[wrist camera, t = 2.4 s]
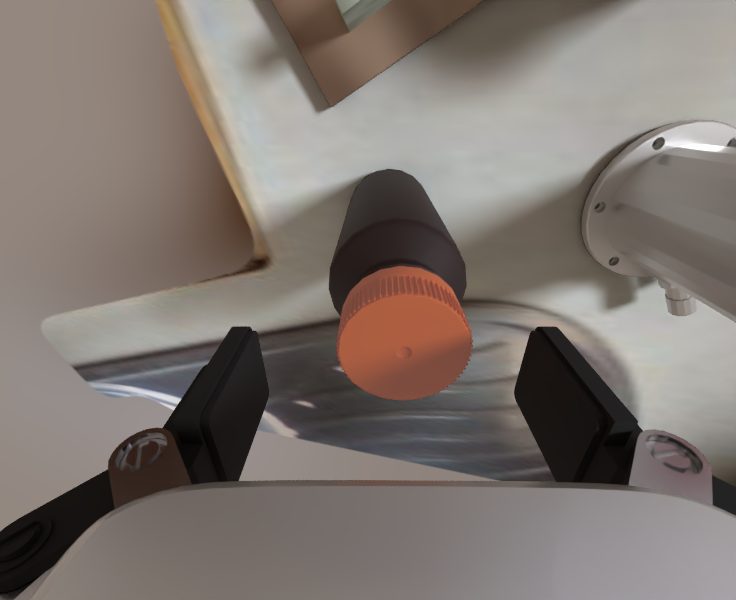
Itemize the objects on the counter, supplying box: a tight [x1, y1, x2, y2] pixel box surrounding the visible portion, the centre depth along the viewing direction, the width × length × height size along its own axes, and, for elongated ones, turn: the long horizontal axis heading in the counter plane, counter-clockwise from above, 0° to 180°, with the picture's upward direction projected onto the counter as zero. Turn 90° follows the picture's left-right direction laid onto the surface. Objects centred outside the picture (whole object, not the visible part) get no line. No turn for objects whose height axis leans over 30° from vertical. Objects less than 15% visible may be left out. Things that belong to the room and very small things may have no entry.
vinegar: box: [329, 169, 473, 401], centre depth 21 cm, size 7×7×20 cm
